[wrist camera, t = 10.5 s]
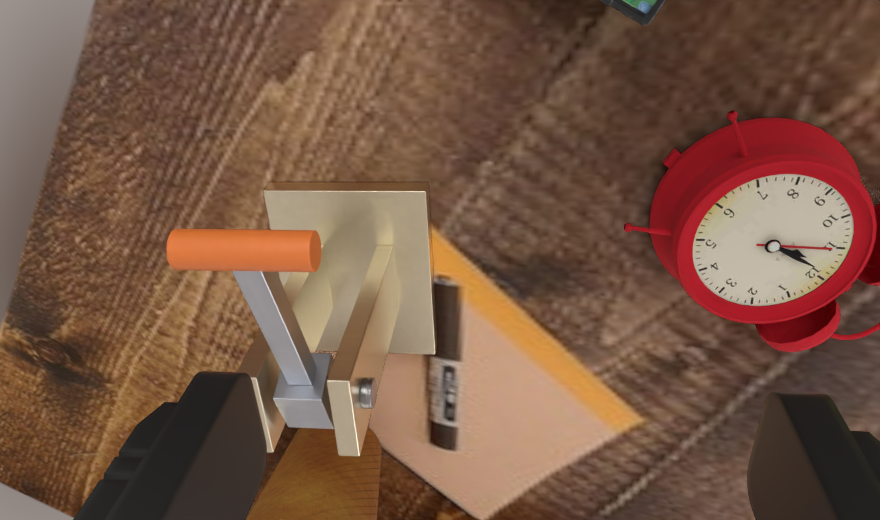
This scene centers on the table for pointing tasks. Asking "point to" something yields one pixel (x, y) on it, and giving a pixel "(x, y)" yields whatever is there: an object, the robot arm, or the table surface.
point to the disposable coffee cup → (322, 481)
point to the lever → (268, 305)
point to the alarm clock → (767, 228)
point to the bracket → (352, 293)
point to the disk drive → (636, 8)
